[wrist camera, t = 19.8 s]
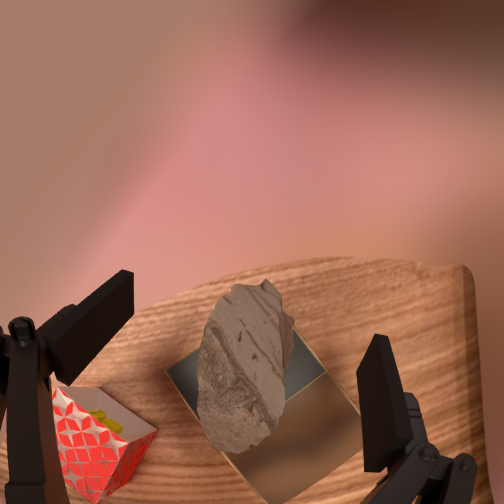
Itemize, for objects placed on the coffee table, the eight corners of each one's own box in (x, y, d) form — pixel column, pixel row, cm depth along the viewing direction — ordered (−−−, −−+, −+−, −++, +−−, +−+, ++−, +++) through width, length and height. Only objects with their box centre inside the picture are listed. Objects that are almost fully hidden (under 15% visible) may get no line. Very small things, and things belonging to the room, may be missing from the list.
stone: (244, 275, 31) (162, 296, 23) (321, 267, 26) (244, 292, 18) (267, 406, 31) (202, 451, 23) (339, 418, 26) (279, 482, 18)
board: (166, 370, 28) (162, 370, 27) (272, 300, 31) (273, 297, 30) (270, 506, 23) (271, 511, 21) (374, 433, 25) (379, 435, 24)
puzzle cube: (158, 429, 26) (128, 443, 19) (128, 482, 23) (95, 505, 16) (97, 387, 27) (56, 385, 20) (71, 439, 25) (29, 447, 17)
